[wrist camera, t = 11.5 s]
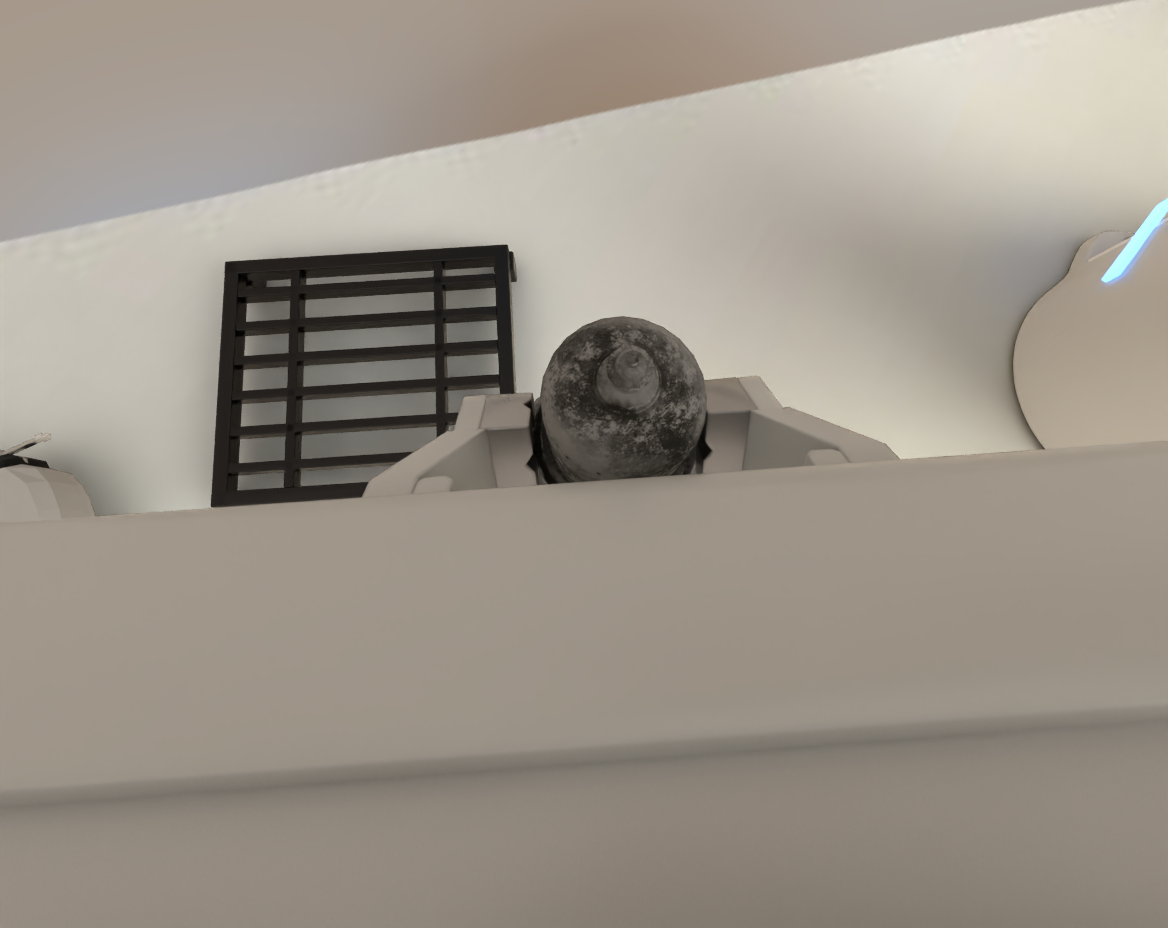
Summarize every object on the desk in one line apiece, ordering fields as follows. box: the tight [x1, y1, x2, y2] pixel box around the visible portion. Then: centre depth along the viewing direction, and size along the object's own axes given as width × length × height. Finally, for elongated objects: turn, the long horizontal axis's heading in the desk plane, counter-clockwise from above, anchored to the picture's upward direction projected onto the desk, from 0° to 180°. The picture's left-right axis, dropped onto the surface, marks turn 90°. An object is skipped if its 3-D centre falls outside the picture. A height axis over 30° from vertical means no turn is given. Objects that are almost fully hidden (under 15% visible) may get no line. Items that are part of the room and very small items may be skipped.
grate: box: [211, 245, 517, 508], centre depth 31 cm, size 16×14×2 cm
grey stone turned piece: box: [533, 316, 707, 485], centre depth 13 cm, size 6×6×12 cm
